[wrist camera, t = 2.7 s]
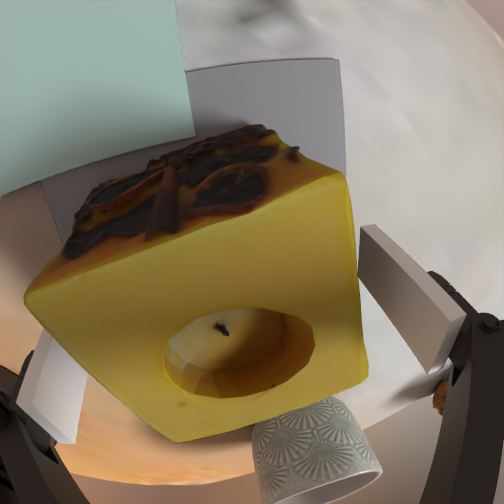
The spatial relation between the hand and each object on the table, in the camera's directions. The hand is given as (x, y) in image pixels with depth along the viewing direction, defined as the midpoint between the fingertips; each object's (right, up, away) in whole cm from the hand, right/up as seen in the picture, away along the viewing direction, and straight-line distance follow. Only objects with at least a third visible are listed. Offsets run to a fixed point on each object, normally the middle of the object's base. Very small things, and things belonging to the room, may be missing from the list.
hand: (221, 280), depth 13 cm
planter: (+6, -17, +18) cm, 26 cm away
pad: (-9, +12, -2) cm, 15 cm away
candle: (-2, +3, +5) cm, 6 cm away
